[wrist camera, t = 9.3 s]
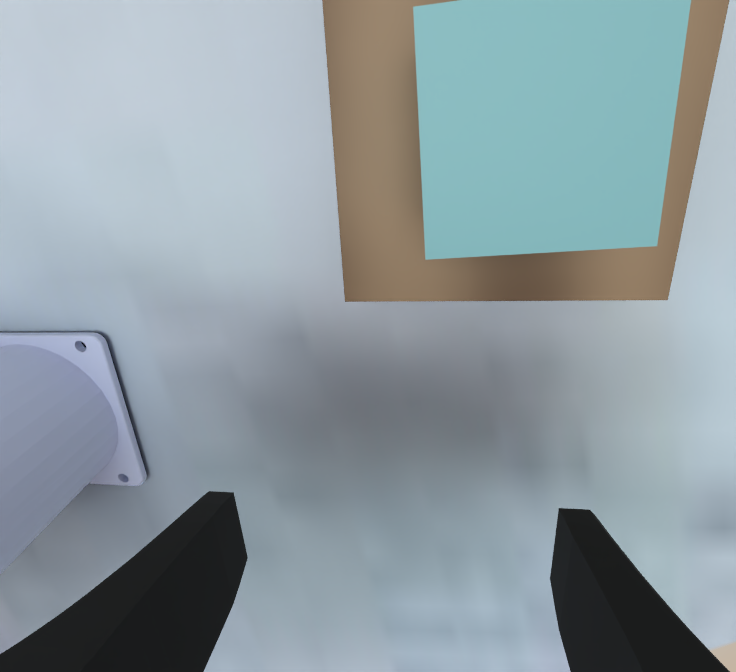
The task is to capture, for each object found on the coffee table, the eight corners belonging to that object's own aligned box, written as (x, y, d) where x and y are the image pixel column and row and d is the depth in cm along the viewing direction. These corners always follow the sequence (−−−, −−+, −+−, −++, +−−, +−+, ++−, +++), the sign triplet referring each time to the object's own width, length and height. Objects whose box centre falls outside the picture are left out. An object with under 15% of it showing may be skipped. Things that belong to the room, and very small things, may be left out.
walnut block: (358, 275, 19) (345, 301, 16) (339, -39, 15) (317, -74, 12) (632, 271, 18) (667, 299, 15) (691, -76, 14) (754, -125, 11)
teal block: (429, 217, 15) (425, 259, 10) (421, 47, 13) (412, 6, 8) (586, 206, 14) (656, 246, 10) (600, 24, 12) (696, -33, 8)
